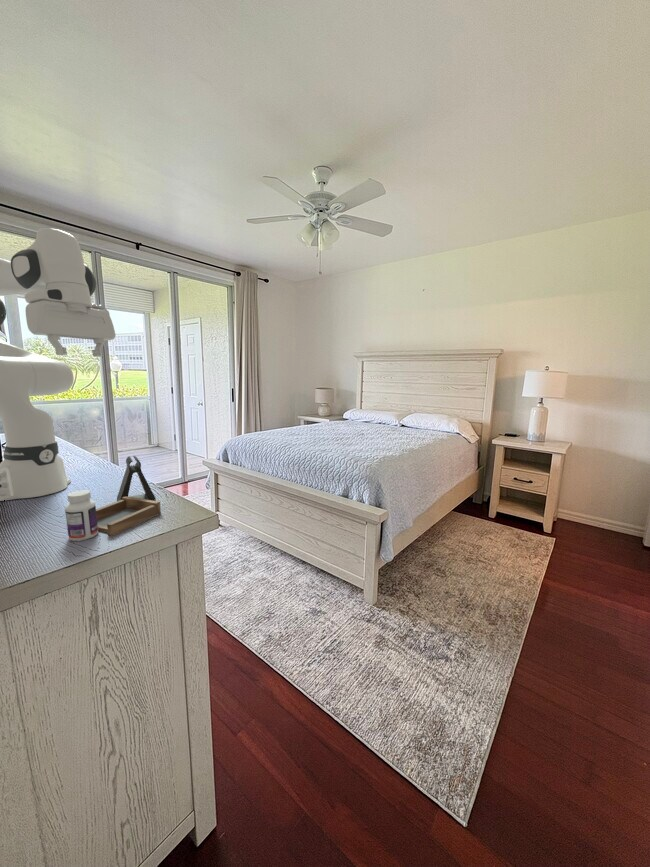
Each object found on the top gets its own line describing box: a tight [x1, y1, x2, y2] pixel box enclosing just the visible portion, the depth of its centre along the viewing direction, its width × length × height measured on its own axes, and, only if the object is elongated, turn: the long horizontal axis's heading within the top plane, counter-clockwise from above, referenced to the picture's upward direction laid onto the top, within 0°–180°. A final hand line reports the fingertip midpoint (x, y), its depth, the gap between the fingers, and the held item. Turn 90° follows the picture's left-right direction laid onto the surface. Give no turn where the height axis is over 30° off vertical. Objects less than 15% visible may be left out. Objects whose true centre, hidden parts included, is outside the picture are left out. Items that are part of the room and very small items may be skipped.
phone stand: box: [116, 455, 157, 502], centre depth 98 cm, size 9×6×12 cm, turn 124°
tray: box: [96, 495, 162, 537], centre depth 85 cm, size 11×14×3 cm
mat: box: [97, 508, 138, 526], centre depth 86 cm, size 9×11×1 cm
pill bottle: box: [64, 489, 99, 542], centre depth 76 cm, size 5×5×10 cm
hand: (80, 355), depth 91 cm, fingers open, 8 cm apart
